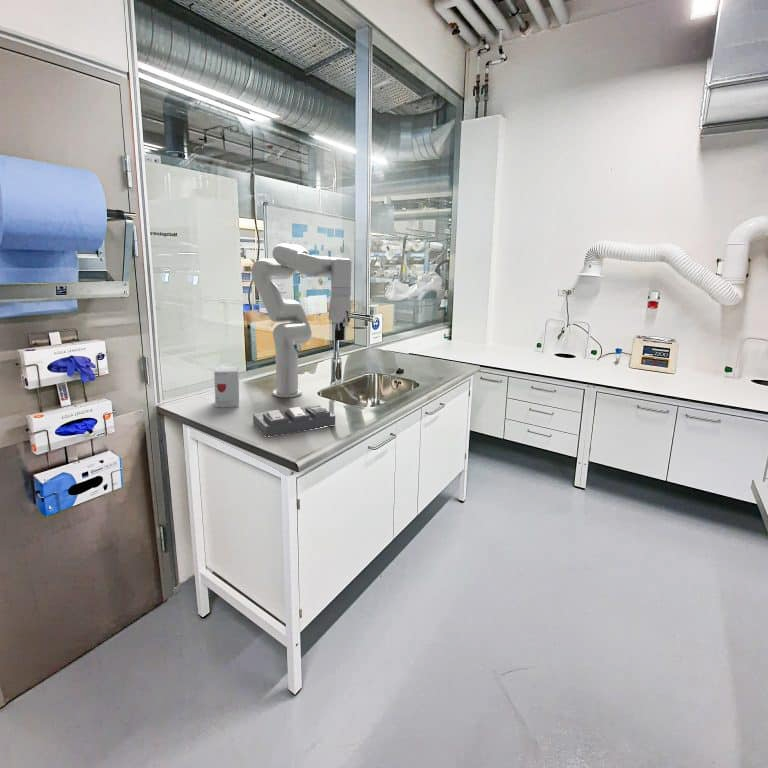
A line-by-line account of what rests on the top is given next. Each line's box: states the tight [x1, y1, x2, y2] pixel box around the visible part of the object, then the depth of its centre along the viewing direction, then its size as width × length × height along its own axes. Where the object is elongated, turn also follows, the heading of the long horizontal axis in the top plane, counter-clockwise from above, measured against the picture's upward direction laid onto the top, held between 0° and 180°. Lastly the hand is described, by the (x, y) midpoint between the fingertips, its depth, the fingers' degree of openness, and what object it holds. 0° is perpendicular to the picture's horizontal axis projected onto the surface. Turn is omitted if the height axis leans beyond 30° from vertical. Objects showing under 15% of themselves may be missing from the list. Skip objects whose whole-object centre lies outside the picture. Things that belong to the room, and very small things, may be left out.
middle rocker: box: [288, 406, 306, 417], centre depth 161 cm, size 6×4×1 cm, turn 33°
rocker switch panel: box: [252, 404, 336, 438], centre depth 163 cm, size 14×26×6 cm, turn 123°
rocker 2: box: [309, 406, 327, 413], centre depth 165 cm, size 6×4×1 cm, turn 33°
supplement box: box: [213, 366, 240, 409], centre depth 181 cm, size 9×9×15 cm
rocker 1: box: [266, 409, 284, 420], centre depth 156 cm, size 6×4×1 cm, turn 33°
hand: (339, 339), depth 175 cm, fingers closed
